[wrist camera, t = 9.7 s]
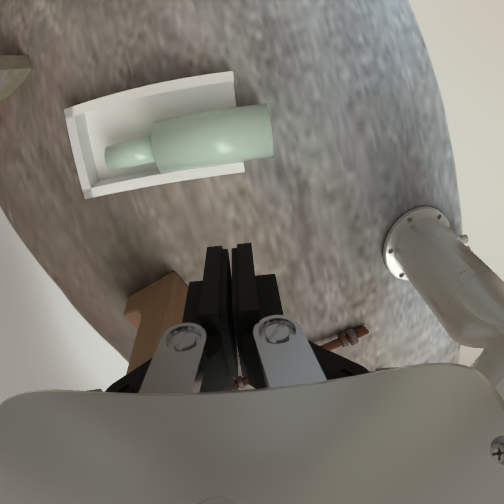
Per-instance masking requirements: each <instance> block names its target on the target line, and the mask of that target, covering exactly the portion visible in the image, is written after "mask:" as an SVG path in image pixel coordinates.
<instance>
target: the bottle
mask: <svg viewBox="0 0 504 504" xmlns="http://www.w3.org/2000/svg"><path fill="white" fill-rule="evenodd" d="M104 157H105V163H106V166H107V168H108V169H109V170H110V171H115V170H119V169H124V168H128V167H133V166H137V165H142V164H147V163H152V162H156V165H157V167H158V170H159V171H160V173H161V174H165V173H171V172H176V171H182V170H188V169H194V168H200V167H206V166H212V165H219V164H226V163H233V162H240V161H247V160H255V159H263V158H272V157H273V135H272V126H271V120H270V115H269V111H268V107H267V105H266V104H257V105H249V106H240V107H233V108H226V109H219V110H212V111H206V112H200V113H194V114H188V115H183V116H178V117H173V118H168V119H163V120H158V121H154V122H153V124H152V128H151V136H147V137H142V138H138V139H133V140H129V141H125V142H121V143H117V144H113V145H109V146H107V147H106V148H105V152H104Z"/></svg>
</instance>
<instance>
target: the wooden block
mask: <svg viewBox="0 0 504 504" xmlns="http://www.w3.org/2000/svg"><path fill="white" fill-rule="evenodd" d="M187 292H188V287H187V286H186V285H185V283H184V282H183V281H182V280H181V279H180V277H179V276H178V275H177V274H176V273H175V272H171V273H170V274H168V275H166V276H164V277H163V278H161V279H159V280H157V281H156V282H154V283H152V284H150V285H149V286H147V287H145V288H143V289H142V290H140V291H138V292H137V293H135V294H133V295H131V296H130V297H129V300H128V303H127V306H126V308H125V311H124V316H125V317H126V318H127V319H128V320H129V321H130V322H131V323H132V324H133V325H134V326H135V327H136V328H137V329H138V332H137V335H136V339H135V343H134V347H133V350H132V354H131V358H130V362H129V366H128V370H127V374H128V373H130V372H131V371H133V370H134V369H136V368H137V367H139V366H140V365H142V364H143V363H145V362H146V361H148V360H149V359H151V358H152V357H153V356H154V354H155V351H156V349H157V346H158V344H159V342H160V339H161V337H162V335H163V334H164V332H165V331H167V330H168V329H169V328H170V327H172V326H174V325H177V324H180V323H182V320H183V314H184V308H185V303H186V297H187ZM127 374H126V375H127Z"/></svg>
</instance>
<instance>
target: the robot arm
mask: <svg viewBox="0 0 504 504" xmlns="http://www.w3.org/2000/svg"><path fill="white" fill-rule="evenodd" d="M467 242H468V237H467V235H460V236H457V235H456V234H455V233H454V232H452V231H451V226H450V223H449V221H448V219H447V217H446V216H445V215H444V214H443V213H442V212H440V211H439V210H438V209H435V208H433V207H428V206H424V207H418V208H414V209H412V210H410V211H408V212H406V213H405V214H404V215H402V216H401V217H400V218H399V219H398V220H397V221H396V222H395V223H394V225H393V226H392V228H391V229H390V231H389V233H388V235H387V237H386V240H385V243H384V248H383V258H384V262H385V265H386V267H387V269H388V270H389V271H390V272H391V274H392V275H394V276H395V277H396V278H398V279H401V280H409V281H410V282H411V284H412V285H413V286H414V287H415V289H416V290H417V291H418V293H419V294H420V295H421V297H422V298H423V300H424V301H425V302H426V304H427V305H428V306H429V308H430V309H431V310H432V312H433V313H434V315H435V316H436V317H437V319H438V320H439V322H440V323H441V324H442V326H443V327H444V329H445V330H446V331H447V333H448V334H449V336H450V337H451V338H452V339H453V340H454V341H455V342H457V343H459V344H461V345H464V346H467V347H473V348H484V350H483V352H482V353H481V355H480V356H479V357H478V358H477V359H476V360H475V362H474V363H473V364H472V365H471V366H470V367H468V366H465V365H460V364H452V363H425V364H417V365H409V366H404V367H397V368H376V370H375V371H368V370H367V369H366V368H364V367H363V366H361V365H359V364H357V363H355V362H353V361H350V360H348V359H346V358H344V357H342V356H340V355H337V354H335V353H333V352H331V351H329V350H327V349H325V348H322V347H320V346H318V345H316V344H314V343H312V342H310V341H308V340H307V338H306V336H305V334H304V332H303V330H302V328H301V326H300V324H299V323H298V322H297V321H296V320H295V319H293V318H292V317H289V316H286V315H283V310H282V306H281V301H280V296H279V291H278V286H277V281H276V277H275V274H268V275H258V276H255V272H254V263H253V254H252V246H251V243H244V244H237V248H232V276H231V269H230V262H229V254H228V249H222V246H214V247H207V253H206V261H205V268H204V275H203V281H194V282H190V283H189V286H188V292H187V297H186V303H185V308H184V314H183V320H182V323H180V324H177V325H174V326H172V327H170V328H169V329H168V330H167V331H165V332H164V334H163V335H162V337H161V339H160V342H159V344H158V346H157V349H156V351H155V354H154V356H153V357H152V358H151V359H149V360H148V361H146V362H145V363H143V364H142V365H140V366H139V367H137V368H136V369H134V370H133V371H131V372H130V373H128V374H127V375H126V376H124V377H122V378H121V379H119V380H118V381H116V382H115V383H113V384H112V385H111V386H110V387H109V388H108V389H107V390H106V391H105V392H103V391H102V390H101V389H96V390H89V391H74V390H35V391H28V392H24V393H21V394H17V395H15V396H12V397H10V398H8V399H6V400H5V401H4V402H2V403H1V405H0V504H504V282H503V281H502V280H501V279H500V278H499V277H498V276H497V275H496V274H495V273H494V272H493V271H492V270H491V269H490V268H489V267H488V266H487V265H486V264H485V263H484V262H483V261H482V260H481V259H479V258H478V257H477V256H476V255H475V254H474V253H473V252H472V251H471V249H470V247H469V246H465V245H464V243H467ZM237 346H238V352H239V358H240V364H241V370H242V376H243V377H248V383H249V384H250V385H251V386H253V387H254V388H256V389H249V390H236V391H223V390H225V389H226V388H227V387H233V381H232V378H236V377H238V359H237Z"/></svg>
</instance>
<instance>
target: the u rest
mask: <svg viewBox="0 0 504 504" xmlns="http://www.w3.org/2000/svg"><path fill="white" fill-rule="evenodd" d="M233 107H236V99H235V90H234V76H233V71H228V72H220V73H212V74H205V75H199V76H193V77H187V78H181V79H176V80H171V81H166V82H161V83H156V84H151V85H147V86H143V87H138V88H134V89H130V90H126V91H122V92H119V93H115V94H111V95H108V96H104V97H101V98H97V99H94V100H91V101H87V102H84V103H81V104H78V105H75V106H72V107H69V108H66V109H64V112H65V118H66V123H67V128H68V133H69V138H70V142H71V147H72V151H73V155H74V160H75V164H76V168H77V172H78V176H79V179H80V183H81V187H82V190H83V194H84V198H85V199H88V198H93V197H98V196H102V195H107V194H112V193H117V192H122V191H127V190H132V189H138V188H143V187H149V186H154V185H160V184H166V183H172V182H178V181H184V180H191V179H197V178H204V177H211V176H218V175H226V174H233V173H241V172H245V170H244V162H243V161H240V162H233V163H226V164H219V165H212V166H206V167H200V168H194V169H188V170H182V171H176V172H171V173H165V174H161V173H160V171H159V170H158V167H157V165H156V162H152V163H147V164H142V165H137V166H133V167H128V168H124V169H119V170H115V171H110V170H109V169H108V168H107V166H106V163H105V157H104V152H105V148H106V147H107V146H109V145H113V144H117V143H121V142H125V141H129V140H133V139H138V138H142V137H147V136H151V128H152V124H153V122H154V121H158V120H163V119H168V118H173V117H178V116H183V115H188V114H194V113H200V112H206V111H212V110H219V109H226V108H233Z"/></svg>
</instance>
